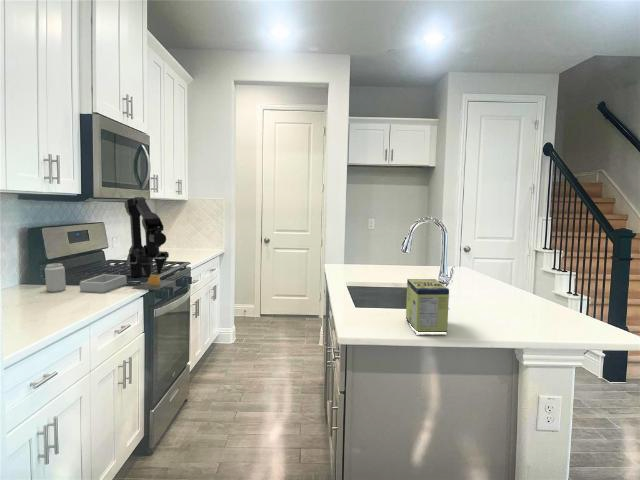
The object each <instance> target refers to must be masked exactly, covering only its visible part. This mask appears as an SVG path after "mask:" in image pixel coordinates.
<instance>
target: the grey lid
mask: <svg viewBox="0 0 640 480" xmlns="http://www.w3.org/2000/svg"><path fill="white" fill-rule="evenodd" d="M173 283H176V280H167V279H166V280H163V279H161V275H160V274H154V273H153V274H152V273H151V275H150V277H149V278H148V277H147V281H145V282H143V283H139V284H137V285H135V286H133V287H131V289H133V290H147V291H149V290H150V291H159V290H160V289H162V288H165V287H167V286H168V285H171V284H173Z"/></svg>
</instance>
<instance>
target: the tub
mask: <svg viewBox="0 0 640 480" xmlns="http://www.w3.org/2000/svg"><path fill="white" fill-rule="evenodd" d="M127 284H128V283H127V275H123V274H121V275H120V274H103V273H102V274H100V275H97V276H94V277H91V278H87V279H85V280H82V281H79V292H80V293H93V294H94V293H95V294H107V293H109V292H111V291H114V290H117V289H119V288H123V287H124V286H127Z"/></svg>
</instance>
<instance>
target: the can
mask: <svg viewBox="0 0 640 480" xmlns="http://www.w3.org/2000/svg"><path fill="white" fill-rule="evenodd" d="M65 270H66V269H65V266H64V265H63V263H60V262H59V263H49V264H46V266H45V268H44V274H45V275H44V276H45V290H46V291H47V292H48V293H59V292H60V293H61V292H64V291H65V290H66V288H67V284H66V283H67V281H66V272H65Z"/></svg>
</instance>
